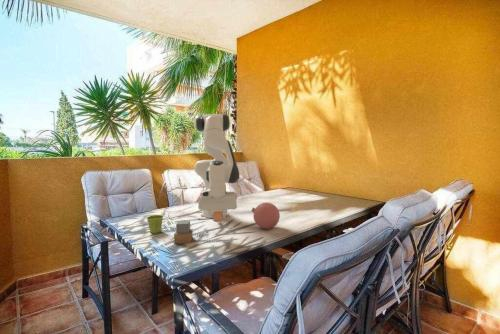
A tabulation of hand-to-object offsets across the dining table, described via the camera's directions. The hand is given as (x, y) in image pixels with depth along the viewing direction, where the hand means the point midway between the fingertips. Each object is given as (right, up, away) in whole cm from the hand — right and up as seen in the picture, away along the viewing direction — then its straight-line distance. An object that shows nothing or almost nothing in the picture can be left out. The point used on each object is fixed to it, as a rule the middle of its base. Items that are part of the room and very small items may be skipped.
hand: (218, 217), depth 154 cm
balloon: (+25, -10, +19) cm, 33 cm away
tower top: (-18, -7, -3) cm, 19 cm away
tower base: (-18, -12, -2) cm, 21 cm away
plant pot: (-37, -11, +13) cm, 41 cm away
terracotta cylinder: (0, -2, 0) cm, 2 cm away
